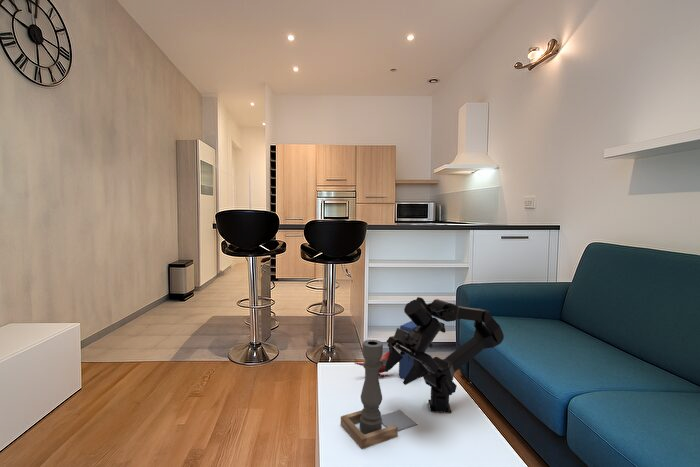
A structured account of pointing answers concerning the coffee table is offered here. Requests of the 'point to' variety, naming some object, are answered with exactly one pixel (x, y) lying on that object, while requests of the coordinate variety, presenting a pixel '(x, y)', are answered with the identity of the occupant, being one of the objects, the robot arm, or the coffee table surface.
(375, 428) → the candle holder
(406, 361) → the electronic device
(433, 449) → the coffee table surface
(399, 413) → the mat
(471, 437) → the coffee table surface
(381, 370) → the decorative bird figurine
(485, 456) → the coffee table surface
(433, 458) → the coffee table surface
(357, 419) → the wooden u-shaped frame
